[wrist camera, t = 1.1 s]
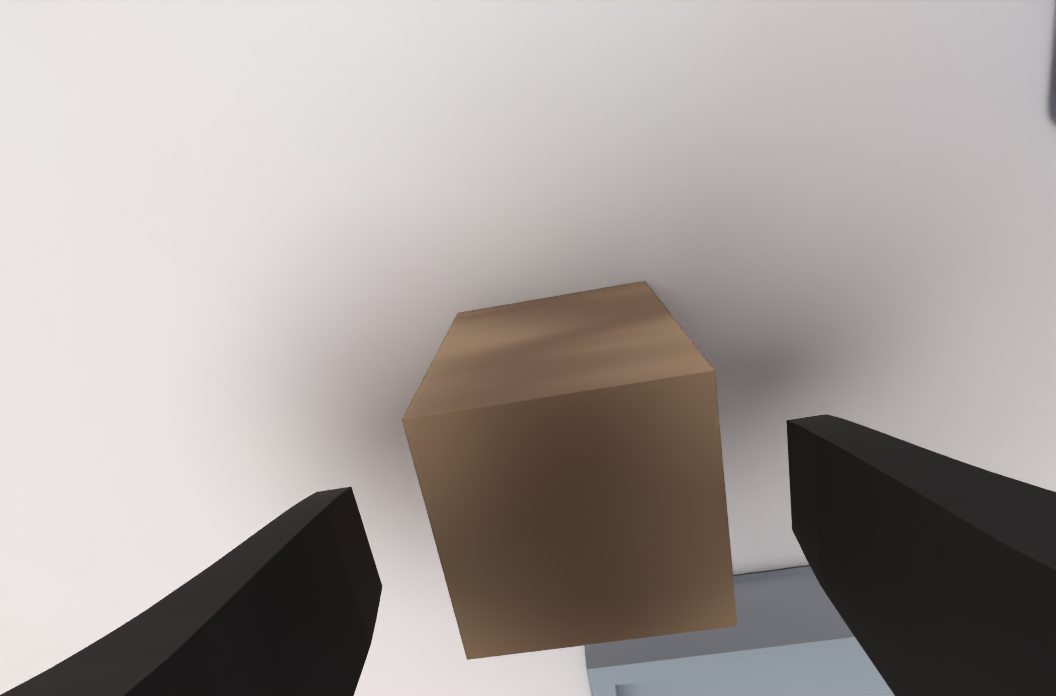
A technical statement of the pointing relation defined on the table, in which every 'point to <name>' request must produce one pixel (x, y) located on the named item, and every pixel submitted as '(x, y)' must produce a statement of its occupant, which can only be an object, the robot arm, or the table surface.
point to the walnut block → (574, 474)
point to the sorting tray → (747, 650)
